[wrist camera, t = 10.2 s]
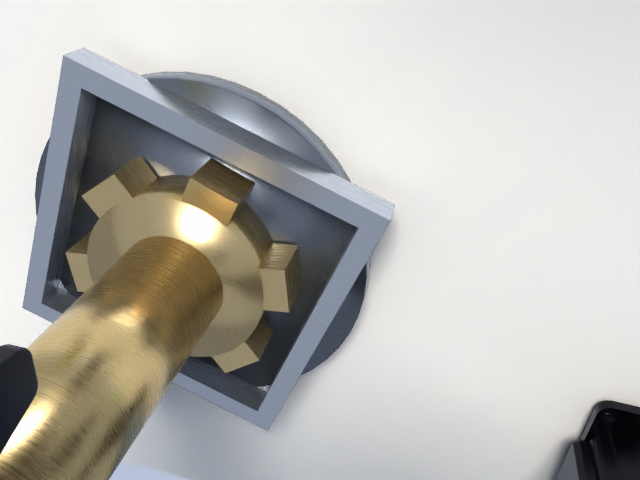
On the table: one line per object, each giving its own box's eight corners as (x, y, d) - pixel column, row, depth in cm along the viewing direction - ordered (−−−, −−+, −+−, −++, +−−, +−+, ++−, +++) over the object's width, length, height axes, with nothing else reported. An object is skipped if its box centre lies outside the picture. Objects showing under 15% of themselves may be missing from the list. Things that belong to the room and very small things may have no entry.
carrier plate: (437, 182, 21) (428, 237, 17) (293, 417, 28) (267, 487, 25) (79, 2, 20) (0, 21, 17) (31, 286, 28) (-30, 338, 25)
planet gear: (292, 159, 20) (100, 413, 10) (308, 351, 24) (183, 666, 14) (71, 151, 22) (-268, 356, 12) (121, 329, 27) (-103, 591, 16)
